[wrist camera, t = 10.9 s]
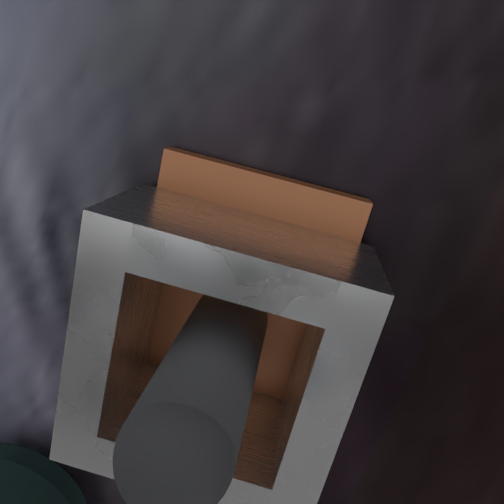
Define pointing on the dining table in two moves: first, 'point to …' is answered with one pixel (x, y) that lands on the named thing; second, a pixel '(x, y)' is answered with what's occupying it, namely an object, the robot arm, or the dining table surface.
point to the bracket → (34, 479)
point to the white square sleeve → (233, 290)
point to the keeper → (217, 343)
